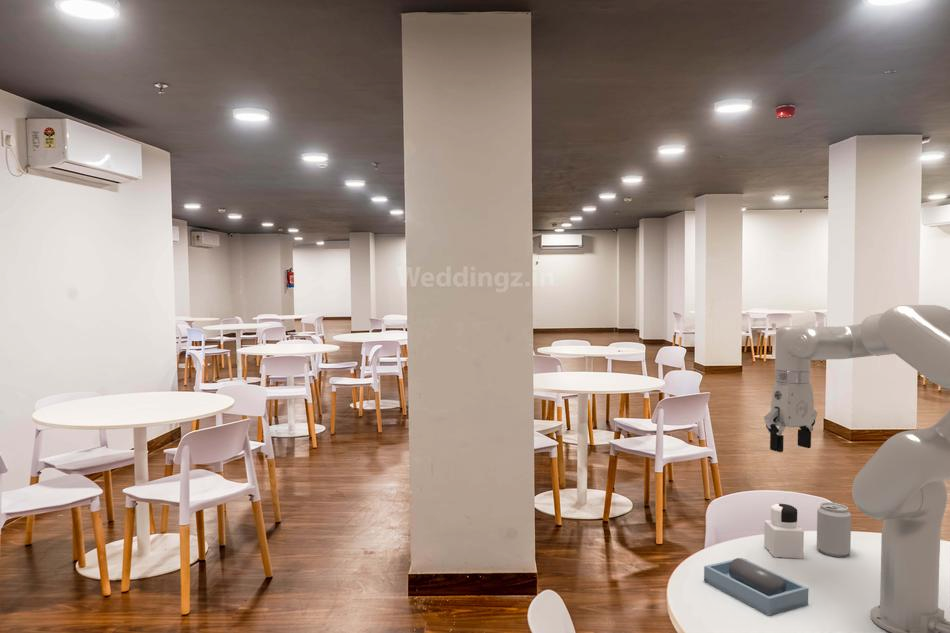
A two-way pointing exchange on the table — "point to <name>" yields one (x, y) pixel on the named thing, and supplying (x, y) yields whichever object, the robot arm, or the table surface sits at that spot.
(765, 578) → the cylinder
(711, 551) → the table surface
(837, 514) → the can
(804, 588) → the trough
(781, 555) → the medicine bottle
